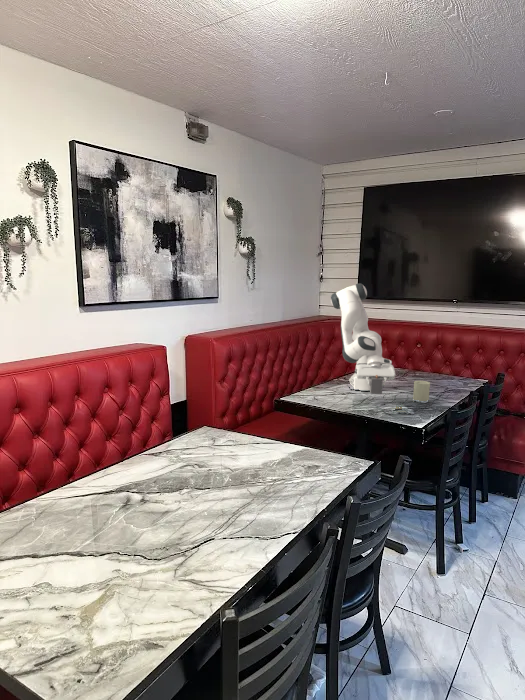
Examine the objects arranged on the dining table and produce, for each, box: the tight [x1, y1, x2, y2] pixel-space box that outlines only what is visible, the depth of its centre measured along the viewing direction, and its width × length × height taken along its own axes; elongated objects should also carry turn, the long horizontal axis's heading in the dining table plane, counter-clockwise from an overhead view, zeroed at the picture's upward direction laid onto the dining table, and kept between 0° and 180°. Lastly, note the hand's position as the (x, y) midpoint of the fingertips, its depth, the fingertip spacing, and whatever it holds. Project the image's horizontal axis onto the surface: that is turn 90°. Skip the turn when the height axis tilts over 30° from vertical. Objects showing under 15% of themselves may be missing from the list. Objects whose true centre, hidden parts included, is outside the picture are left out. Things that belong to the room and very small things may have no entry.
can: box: [412, 380, 431, 401], centre depth 270 cm, size 9×9×12 cm
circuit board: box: [391, 404, 406, 413], centre depth 252 cm, size 17×15×3 cm
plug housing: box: [369, 375, 384, 395], centre depth 243 cm, size 4×6×10 cm
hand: (376, 385), depth 242 cm, fingers closed on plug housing, 6 cm apart
